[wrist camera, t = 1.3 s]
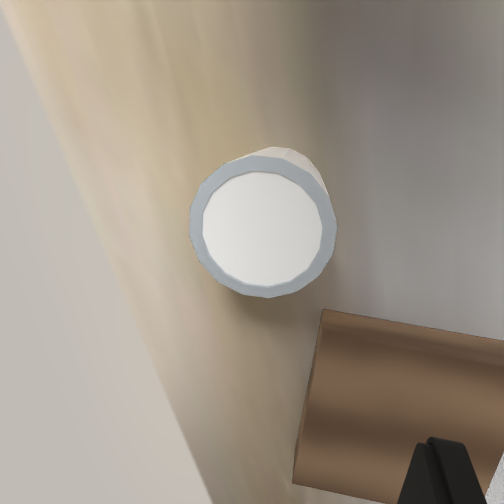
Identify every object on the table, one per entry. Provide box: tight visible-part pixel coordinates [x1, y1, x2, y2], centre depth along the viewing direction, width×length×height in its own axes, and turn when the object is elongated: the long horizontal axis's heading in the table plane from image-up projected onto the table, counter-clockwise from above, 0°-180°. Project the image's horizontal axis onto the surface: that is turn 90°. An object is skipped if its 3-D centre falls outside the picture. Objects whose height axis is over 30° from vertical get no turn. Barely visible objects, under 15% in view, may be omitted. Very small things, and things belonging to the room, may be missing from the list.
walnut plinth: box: [292, 309, 504, 504], centre depth 30 cm, size 12×12×3 cm
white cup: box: [189, 147, 337, 298], centre depth 24 cm, size 7×7×7 cm
